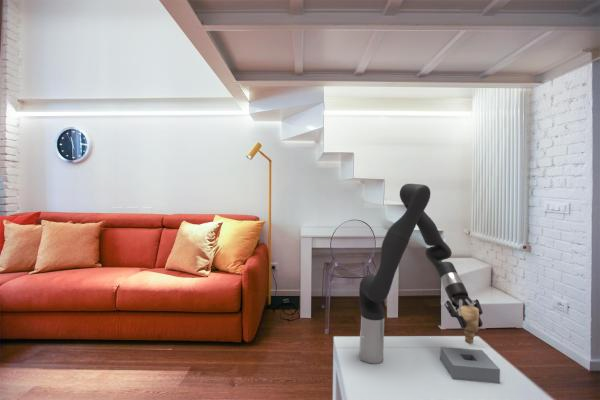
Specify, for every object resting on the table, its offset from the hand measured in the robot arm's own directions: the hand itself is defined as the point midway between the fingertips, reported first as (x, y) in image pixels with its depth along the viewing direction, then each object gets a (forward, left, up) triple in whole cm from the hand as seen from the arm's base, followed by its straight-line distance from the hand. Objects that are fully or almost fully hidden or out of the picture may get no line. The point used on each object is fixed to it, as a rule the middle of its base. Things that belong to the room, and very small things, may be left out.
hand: (472, 326), depth 118 cm
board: (0, +2, -18) cm, 18 cm away
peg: (0, +2, -7) cm, 7 cm away
